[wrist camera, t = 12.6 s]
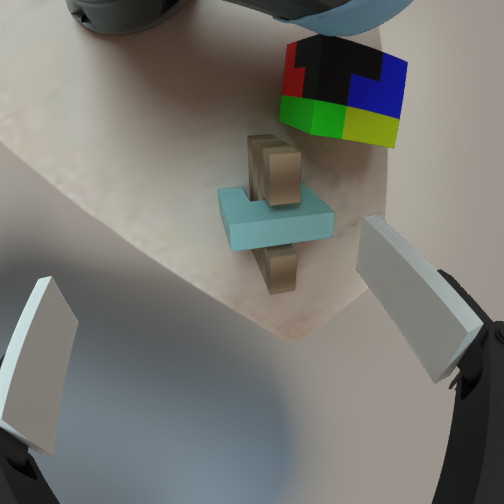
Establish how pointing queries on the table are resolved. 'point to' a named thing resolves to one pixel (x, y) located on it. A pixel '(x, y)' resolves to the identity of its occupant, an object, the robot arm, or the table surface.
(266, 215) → the notched teal block
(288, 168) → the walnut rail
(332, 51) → the puzzle toy
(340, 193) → the table surface
